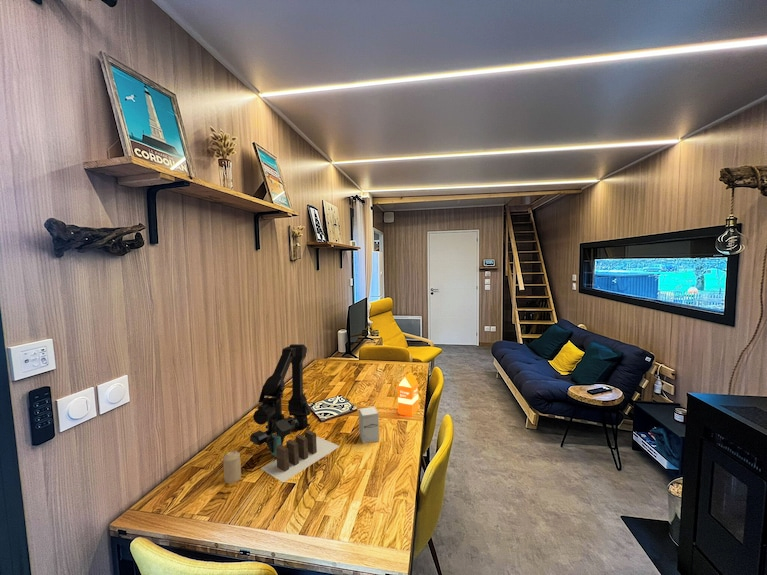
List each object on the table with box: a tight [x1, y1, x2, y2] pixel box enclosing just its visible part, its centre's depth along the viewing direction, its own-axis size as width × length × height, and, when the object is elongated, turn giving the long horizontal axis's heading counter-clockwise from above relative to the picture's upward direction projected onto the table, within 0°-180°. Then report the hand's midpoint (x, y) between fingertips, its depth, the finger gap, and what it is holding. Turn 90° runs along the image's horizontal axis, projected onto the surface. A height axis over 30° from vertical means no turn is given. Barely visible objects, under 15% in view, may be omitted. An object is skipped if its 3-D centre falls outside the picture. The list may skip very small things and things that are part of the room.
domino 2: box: [276, 444, 289, 472], centre depth 121 cm, size 2×5×8 cm, turn 53°
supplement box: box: [358, 406, 380, 444], centre depth 141 cm, size 7×7×13 cm
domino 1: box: [270, 433, 281, 458], centre depth 130 cm, size 2×5×8 cm, turn 53°
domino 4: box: [295, 434, 308, 460], centre depth 128 cm, size 2×5×8 cm, turn 53°
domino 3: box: [285, 439, 299, 465], centre depth 125 cm, size 2×5×8 cm, turn 53°
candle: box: [222, 449, 242, 485], centre depth 116 cm, size 6×6×10 cm
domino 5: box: [304, 429, 317, 454], centre depth 132 cm, size 2×5×8 cm, turn 53°
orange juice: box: [397, 371, 420, 417], centre depth 166 cm, size 8×9×20 cm
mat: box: [260, 436, 341, 483], centre depth 128 cm, size 14×28×1 cm, turn 143°
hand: (276, 450), depth 130 cm, fingers open, 3 cm apart
